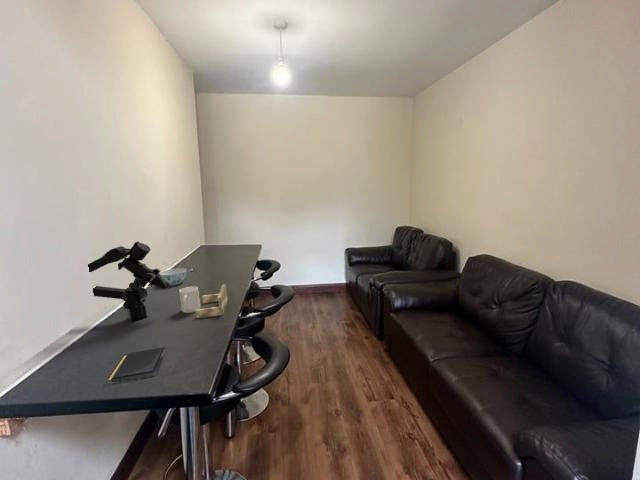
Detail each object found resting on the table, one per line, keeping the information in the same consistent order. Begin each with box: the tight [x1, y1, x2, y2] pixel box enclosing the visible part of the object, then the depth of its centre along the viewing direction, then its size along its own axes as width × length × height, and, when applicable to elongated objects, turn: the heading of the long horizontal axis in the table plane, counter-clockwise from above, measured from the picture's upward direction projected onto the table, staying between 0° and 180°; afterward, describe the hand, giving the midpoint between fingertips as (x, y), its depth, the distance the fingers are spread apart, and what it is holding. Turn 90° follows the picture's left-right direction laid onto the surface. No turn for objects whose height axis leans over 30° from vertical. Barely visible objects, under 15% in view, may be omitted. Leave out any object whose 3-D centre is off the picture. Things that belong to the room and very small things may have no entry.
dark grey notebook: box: [107, 346, 166, 383], centre depth 111 cm, size 20×2×15 cm
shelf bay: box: [195, 283, 228, 319], centre depth 159 cm, size 12×21×8 cm, turn 10°
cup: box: [178, 285, 201, 314], centre depth 157 cm, size 8×12×10 cm
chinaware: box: [159, 267, 187, 286], centre depth 206 cm, size 15×15×8 cm
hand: (166, 288), depth 154 cm, fingers closed
